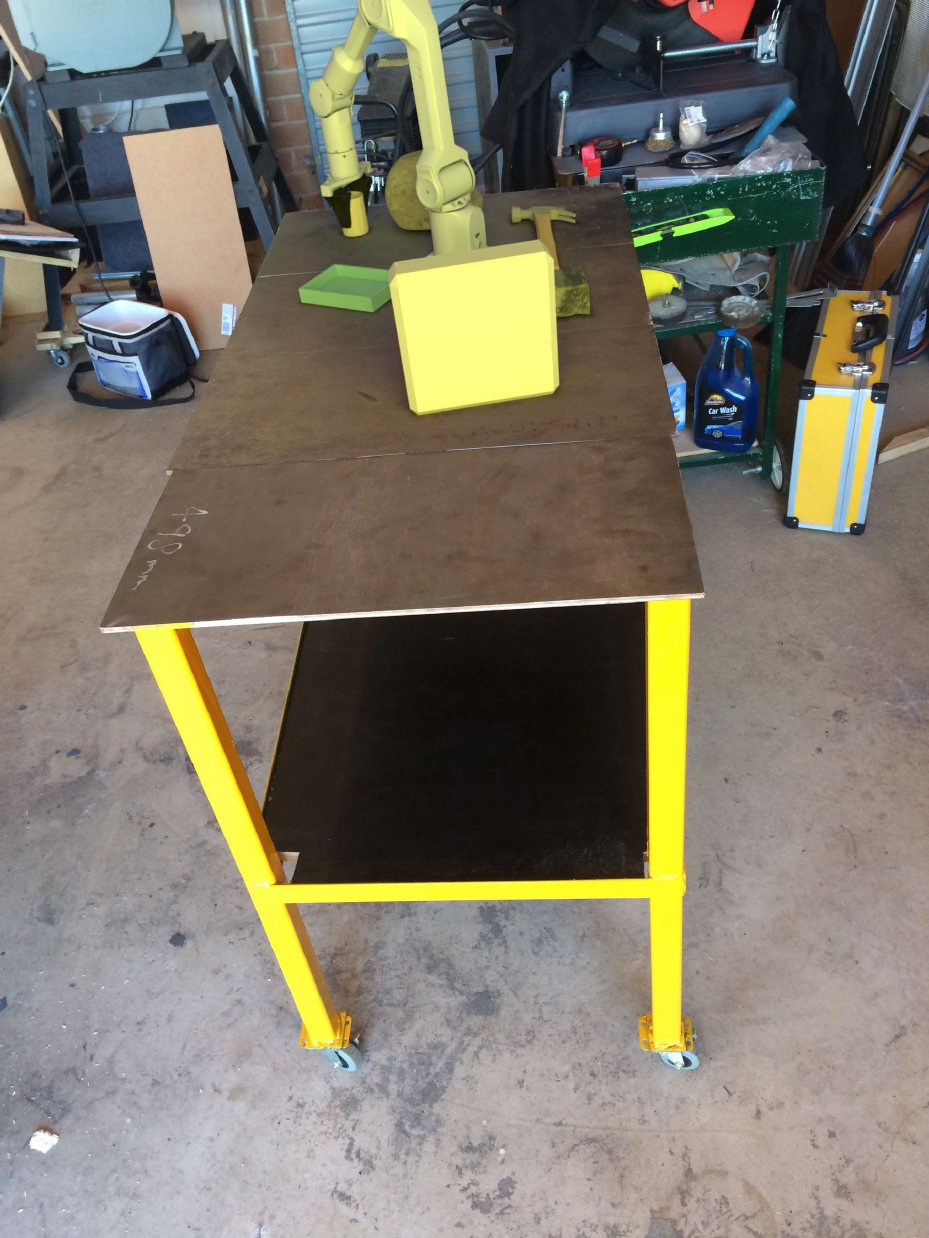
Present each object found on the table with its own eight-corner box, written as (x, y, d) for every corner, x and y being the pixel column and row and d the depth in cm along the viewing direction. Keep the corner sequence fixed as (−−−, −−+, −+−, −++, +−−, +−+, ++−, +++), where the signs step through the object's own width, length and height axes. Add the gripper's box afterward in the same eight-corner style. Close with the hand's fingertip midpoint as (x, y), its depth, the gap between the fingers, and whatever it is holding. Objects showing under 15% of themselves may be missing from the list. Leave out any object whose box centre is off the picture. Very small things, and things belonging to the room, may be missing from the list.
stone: (386, 236, 184) (373, 155, 174) (396, 223, 189) (384, 143, 179) (479, 234, 179) (471, 150, 169) (487, 220, 184) (479, 138, 174)
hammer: (585, 278, 160) (573, 216, 183) (586, 261, 159) (573, 201, 181) (516, 281, 161) (511, 219, 183) (515, 265, 159) (511, 204, 181)
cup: (374, 228, 188) (367, 191, 184) (359, 237, 185) (352, 201, 180) (352, 226, 190) (346, 190, 186) (338, 235, 187) (331, 199, 183)
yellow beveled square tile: (550, 371, 136) (543, 231, 123) (561, 397, 130) (555, 253, 117) (407, 393, 136) (384, 256, 122) (412, 421, 130) (388, 280, 116)
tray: (407, 285, 165) (405, 271, 163) (373, 312, 158) (370, 298, 156) (337, 277, 171) (334, 263, 170) (301, 302, 164) (298, 288, 163)
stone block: (496, 303, 155) (493, 272, 152) (582, 293, 155) (581, 261, 151) (499, 326, 149) (496, 294, 145) (590, 315, 148) (589, 283, 145)
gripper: (345, 136, 184) (357, 207, 193) (301, 160, 175) (317, 234, 184) (375, 137, 181) (386, 210, 190) (332, 162, 172) (346, 236, 181)
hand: (354, 222), depth 186 cm, fingers closed on cup, 5 cm apart
